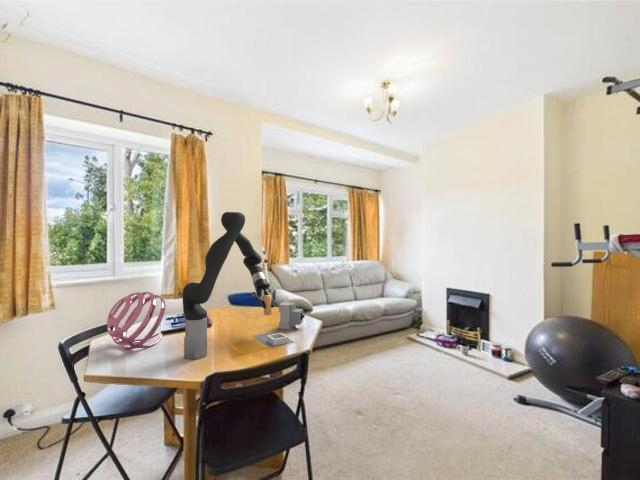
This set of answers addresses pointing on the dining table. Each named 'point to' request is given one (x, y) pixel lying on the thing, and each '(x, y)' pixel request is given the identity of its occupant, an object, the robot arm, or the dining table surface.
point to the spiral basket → (121, 333)
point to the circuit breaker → (290, 315)
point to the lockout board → (273, 339)
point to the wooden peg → (267, 304)
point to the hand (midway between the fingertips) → (269, 307)
